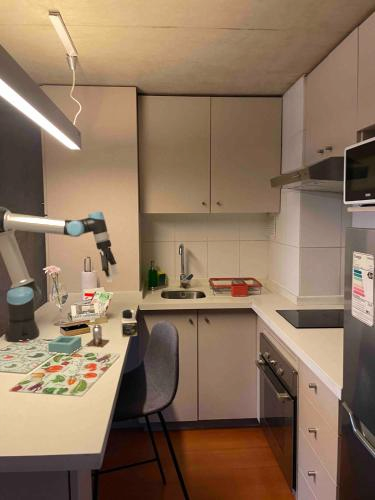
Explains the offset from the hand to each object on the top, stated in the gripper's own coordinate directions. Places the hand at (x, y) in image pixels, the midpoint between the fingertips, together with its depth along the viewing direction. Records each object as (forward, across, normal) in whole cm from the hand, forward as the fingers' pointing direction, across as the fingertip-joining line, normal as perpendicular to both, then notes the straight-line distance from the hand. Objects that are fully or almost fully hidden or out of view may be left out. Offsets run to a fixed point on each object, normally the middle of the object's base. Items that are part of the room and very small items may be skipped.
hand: (113, 279), depth 198 cm
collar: (+19, -42, +17) cm, 49 cm away
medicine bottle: (+26, -19, -6) cm, 32 cm away
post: (+22, -32, +6) cm, 39 cm away
